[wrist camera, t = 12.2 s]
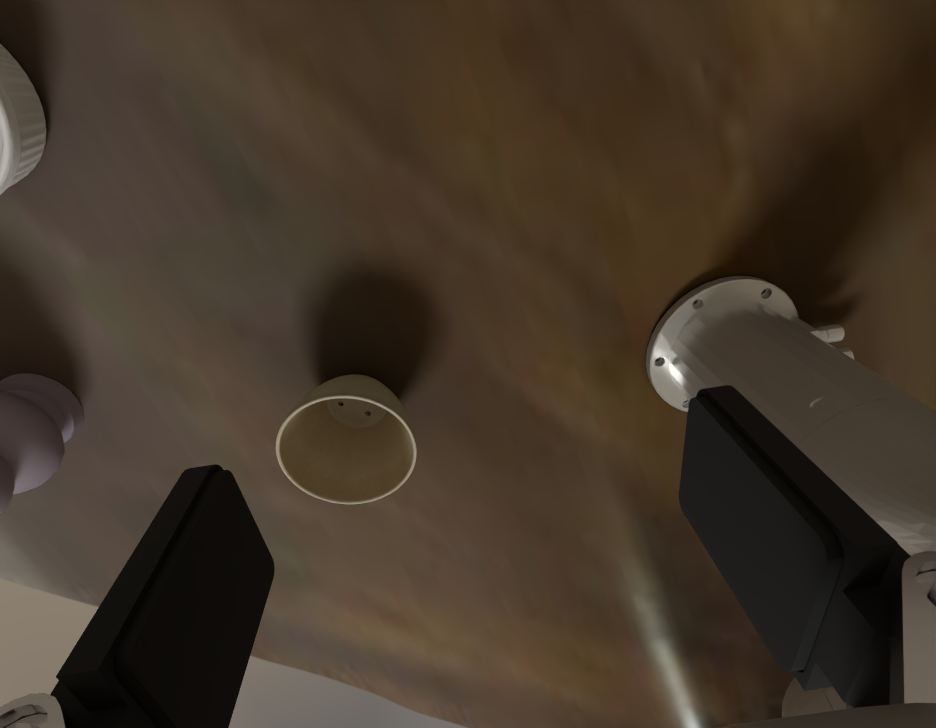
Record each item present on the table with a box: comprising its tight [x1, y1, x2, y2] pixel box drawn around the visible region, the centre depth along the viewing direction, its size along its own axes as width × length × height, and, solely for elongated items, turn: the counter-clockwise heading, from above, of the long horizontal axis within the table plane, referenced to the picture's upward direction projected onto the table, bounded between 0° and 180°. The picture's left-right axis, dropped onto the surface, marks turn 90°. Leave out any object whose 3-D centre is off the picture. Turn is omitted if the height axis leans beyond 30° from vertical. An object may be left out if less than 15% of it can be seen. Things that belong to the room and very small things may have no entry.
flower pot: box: [276, 374, 417, 504], centre depth 39 cm, size 10×10×7 cm
